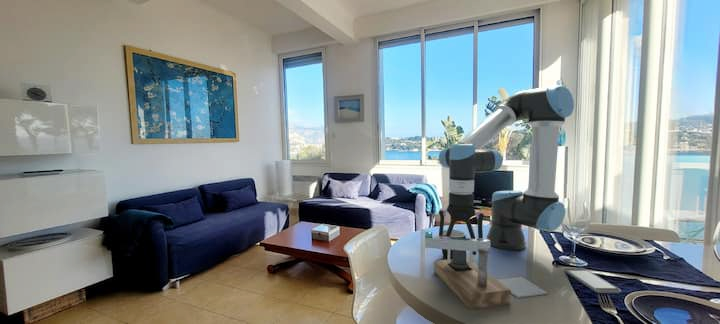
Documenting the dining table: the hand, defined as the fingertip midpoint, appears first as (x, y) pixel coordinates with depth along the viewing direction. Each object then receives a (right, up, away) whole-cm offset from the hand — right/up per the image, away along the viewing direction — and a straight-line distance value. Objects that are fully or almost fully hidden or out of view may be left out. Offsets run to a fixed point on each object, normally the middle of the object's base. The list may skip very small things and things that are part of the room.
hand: (459, 262), depth 94 cm
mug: (+3, -4, +17) cm, 18 cm away
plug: (0, -5, 0) cm, 5 cm away
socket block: (+1, -6, -4) cm, 7 cm away
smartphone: (+41, -6, -1) cm, 42 cm away
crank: (-5, +8, -11) cm, 14 cm away
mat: (+17, -6, -5) cm, 18 cm away
